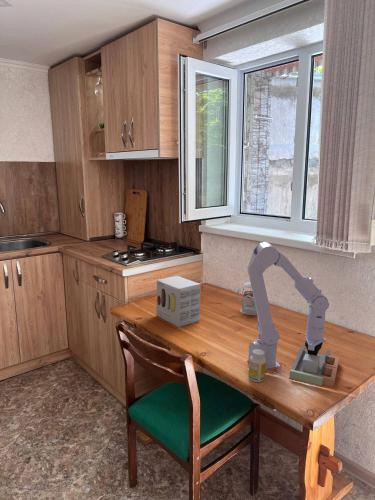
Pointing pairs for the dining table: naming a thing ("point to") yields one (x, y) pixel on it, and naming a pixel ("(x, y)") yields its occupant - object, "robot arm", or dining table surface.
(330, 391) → the dining table surface
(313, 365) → the block
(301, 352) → the box
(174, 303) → the supplement box
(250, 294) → the french press
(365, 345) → the dining table surface
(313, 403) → the dining table surface
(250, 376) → the supplement bottle
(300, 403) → the dining table surface
